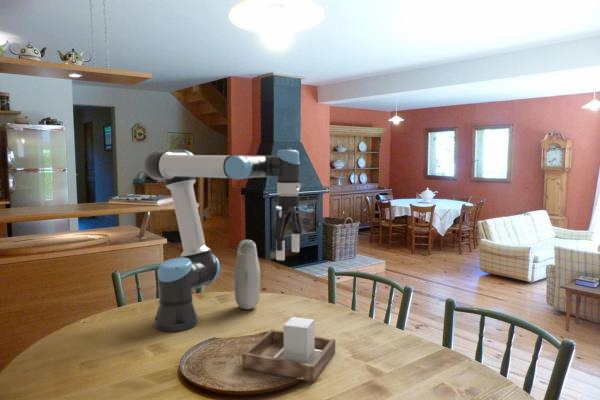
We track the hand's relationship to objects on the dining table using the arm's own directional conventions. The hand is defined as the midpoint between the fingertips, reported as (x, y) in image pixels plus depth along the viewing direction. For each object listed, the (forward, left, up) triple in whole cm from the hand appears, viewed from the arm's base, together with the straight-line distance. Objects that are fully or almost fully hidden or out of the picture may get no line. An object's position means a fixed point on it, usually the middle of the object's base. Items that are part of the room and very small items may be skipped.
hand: (288, 255), depth 158 cm
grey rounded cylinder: (-24, +15, -27) cm, 39 cm away
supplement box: (+14, -24, -26) cm, 38 cm away
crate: (+10, -22, -27) cm, 36 cm away
